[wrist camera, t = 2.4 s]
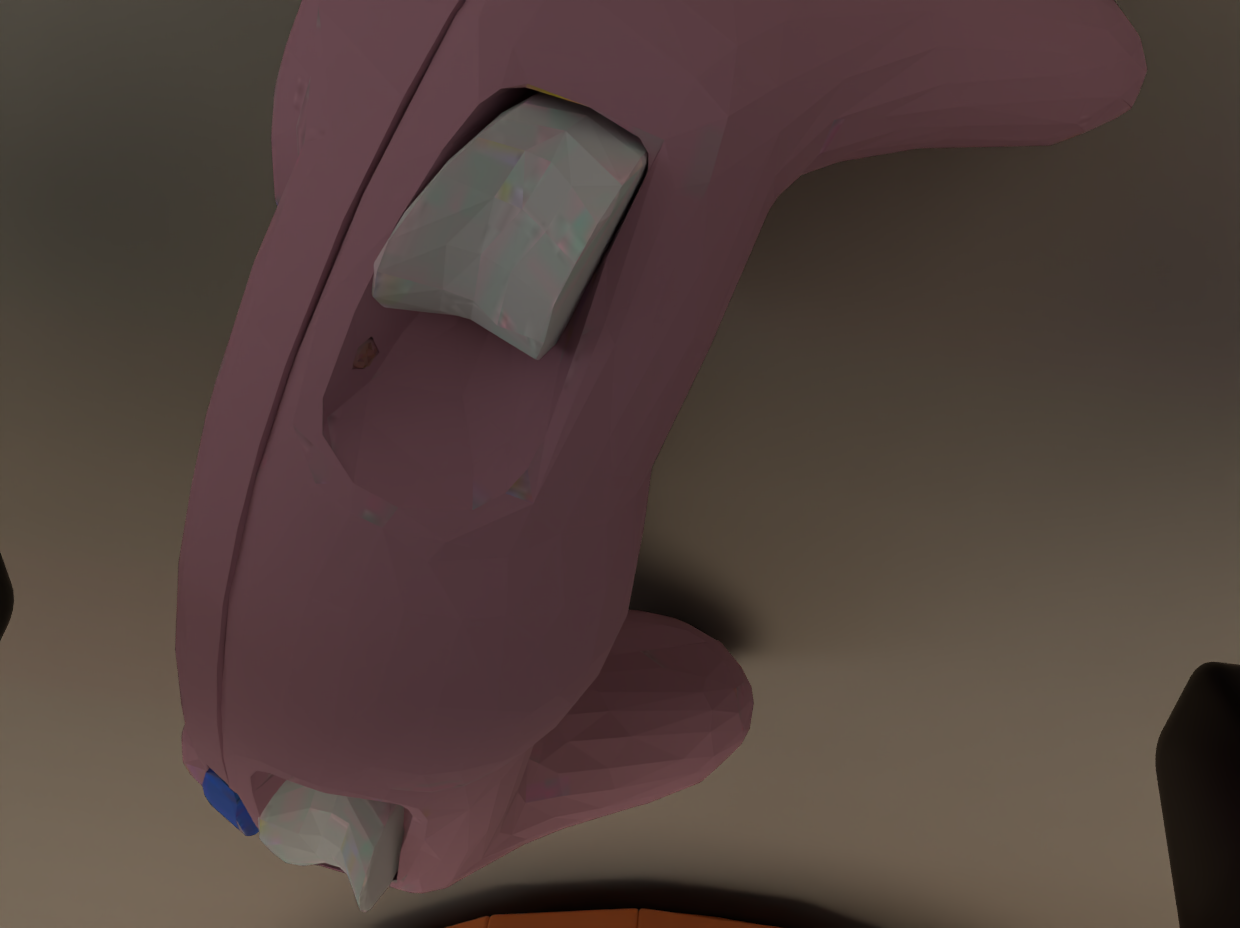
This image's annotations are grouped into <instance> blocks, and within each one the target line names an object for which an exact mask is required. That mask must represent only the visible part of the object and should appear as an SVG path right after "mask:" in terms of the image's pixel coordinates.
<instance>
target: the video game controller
mask: <svg viewBox="0 0 1240 928" xmlns="http://www.w3.org/2000/svg"><path fill="white" fill-rule="evenodd" d="M1146 73H1147V65H1146V61H1145V56H1144V52H1143V47H1142V42H1141V39H1140V37H1139V34H1138V33H1137V31H1136V30H1135V29H1134V27H1133V26H1132V24H1131V23H1130V21H1129V20H1128V19H1127V17H1126V16H1125V15H1124V13H1123V12H1122V11H1121V9H1120V8H1119V6H1118V5H1117V4H1116V2H1115V1H1114V0H302V2H301V4H300V7H299V10H298V13H297V16H296V18H295V21H294V24H293V27H292V30H291V32H290V35H289V38H288V41H287V44H286V47H285V50H284V54H283V58H282V62H281V66H280V70H279V73H278V77H277V81H276V85H275V91H274V104H273V118H272V132H271V144H272V160H273V176H274V192H275V201H276V204H277V209H276V211H275V213H274V216H273V218H272V220H271V223H270V225H269V228H268V230H267V232H266V235H265V237H264V239H263V242H262V244H261V246H260V249H259V251H258V254H257V256H256V258H255V261H254V264H253V267H252V270H251V273H250V276H249V279H248V282H247V285H246V288H245V292H244V295H243V298H242V301H241V304H240V307H239V310H238V313H237V317H236V320H235V323H234V326H233V329H232V332H231V335H230V338H229V342H228V345H227V348H226V351H225V354H224V357H223V360H222V363H221V366H220V370H219V373H218V376H217V379H216V382H215V386H214V389H213V393H212V396H211V400H210V403H209V407H208V410H207V414H206V418H205V422H204V427H203V432H202V437H201V442H200V447H199V451H198V456H197V461H196V466H195V471H194V476H193V481H192V485H191V491H190V497H189V503H188V509H187V515H186V521H185V527H184V533H183V539H182V545H181V551H180V557H179V566H178V592H177V618H176V643H175V651H176V660H177V669H178V677H179V686H180V695H181V704H182V710H183V715H184V720H185V725H184V728H183V731H182V754H183V763H184V765H185V766H186V768H187V770H188V771H189V773H190V774H191V775H192V776H193V777H194V778H195V779H196V780H197V781H198V782H199V783H200V784H201V785H202V786H203V790H204V795H205V797H206V798H207V800H208V801H209V803H210V804H211V805H212V806H213V807H214V808H215V809H216V810H217V811H218V812H220V813H221V814H222V815H223V816H224V817H225V818H226V819H227V820H229V821H230V822H231V823H232V824H233V825H234V826H235V827H236V828H238V829H239V830H240V831H241V832H242V833H243V834H244V835H245V836H251V835H255V834H256V833H257V832H259V839H260V840H261V841H262V842H263V843H264V844H265V845H266V846H267V848H268V849H269V850H270V851H271V852H272V853H273V854H275V855H276V856H277V857H279V858H280V859H281V860H283V861H284V862H285V863H289V864H295V865H301V866H305V865H312V864H313V865H319V866H323V867H326V868H329V869H333V870H336V871H339V872H343V873H346V874H347V875H348V877H349V880H350V883H351V886H352V889H353V892H354V895H355V898H356V901H357V903H358V906H359V909H360V911H363V912H366V911H369V910H370V909H371V908H372V907H373V906H374V904H375V903H376V902H377V901H378V899H379V898H380V897H381V896H382V894H383V893H384V892H385V891H386V889H387V888H388V887H389V886H390V887H393V888H396V889H400V890H403V891H406V892H410V893H425V892H430V891H435V890H440V889H444V888H447V887H449V886H451V885H452V884H454V883H456V882H458V881H459V880H461V879H463V878H465V877H466V876H468V875H470V874H472V873H474V872H475V871H477V870H479V869H481V868H483V867H484V866H486V865H488V864H490V863H491V862H493V861H495V860H497V859H499V858H500V857H502V856H504V855H506V854H508V853H509V852H511V851H513V850H515V849H517V848H518V847H520V846H522V845H524V844H526V843H529V842H531V841H534V840H536V839H539V838H541V837H544V836H546V835H549V834H551V833H554V832H556V831H559V830H561V829H564V828H566V827H570V826H573V825H576V824H579V823H583V822H586V821H589V820H593V819H596V818H599V817H603V816H606V815H609V814H613V813H616V812H619V811H622V810H626V809H629V808H632V807H636V806H639V805H643V804H647V803H650V802H652V801H655V800H657V799H660V798H662V797H665V796H667V795H670V794H672V793H675V792H677V791H680V790H682V789H685V788H687V787H690V786H692V785H695V784H697V783H700V782H701V781H703V780H704V779H705V778H706V777H707V776H708V775H709V774H711V773H712V772H713V771H714V770H715V769H716V768H717V767H718V766H719V765H720V764H721V763H722V762H723V761H725V760H726V759H727V758H728V757H729V756H730V755H731V754H732V753H733V752H734V751H735V750H736V749H737V748H738V747H739V746H740V745H741V744H742V742H743V740H744V738H745V736H746V735H747V733H748V731H749V729H750V723H751V717H752V710H753V704H754V702H753V695H752V687H751V685H750V683H749V681H748V679H747V677H746V675H745V673H744V671H743V670H742V668H741V666H740V665H739V664H738V662H737V661H736V660H735V659H734V657H733V656H732V655H731V654H730V653H729V651H728V650H727V649H726V648H725V646H724V645H723V644H722V643H721V642H720V641H717V640H715V639H713V638H711V637H710V636H708V635H706V634H705V633H703V632H701V631H699V630H698V629H696V628H694V627H693V626H691V625H689V624H687V623H685V622H683V621H680V620H678V619H676V618H673V617H668V616H664V615H659V614H654V613H650V612H645V611H639V610H630V609H629V603H630V598H631V593H632V588H633V582H634V577H635V572H636V567H637V561H638V556H639V551H640V546H641V540H642V535H643V530H644V524H645V516H646V508H647V501H648V493H649V485H650V478H651V470H652V466H653V464H654V462H655V460H656V458H657V456H658V454H659V452H660V450H661V447H662V445H663V443H664V441H665V439H666V437H667V435H668V433H669V431H670V429H671V427H672V425H673V423H674V421H675V419H676V417H677V414H678V412H679V410H680V408H681V406H682V404H683V402H684V400H685V398H686V396H687V394H688V392H689V390H690V388H691V386H692V384H693V381H694V379H695V377H696V375H697V373H698V371H699V369H700V367H701V365H702V363H703V361H704V359H705V357H706V355H707V353H708V350H709V348H710V346H711V344H712V341H713V339H714V337H715V334H716V332H717V330H718V328H719V325H720V323H721V321H722V318H723V316H724V314H725V311H726V309H727V307H728V304H729V302H730V300H731V297H732V295H733V293H734V290H735V288H736V286H737V283H738V281H739V279H740V276H741V274H742V272H743V269H744V267H745V265H746V263H747V260H748V258H749V256H750V253H751V251H752V249H753V246H754V244H755V242H756V239H757V237H758V235H759V232H760V230H761V228H762V225H763V223H764V221H765V218H766V216H767V214H768V211H769V210H770V208H771V207H772V205H773V204H774V202H775V201H776V199H777V198H778V196H779V195H780V194H781V193H783V192H784V191H785V190H786V189H787V188H788V187H789V186H790V185H791V184H792V183H793V182H794V181H795V180H796V179H798V178H799V177H800V176H801V175H803V174H806V173H809V172H812V171H814V170H817V169H820V168H823V167H826V166H829V165H832V164H835V163H837V162H842V161H848V160H854V159H859V158H865V157H871V156H877V155H883V154H888V153H894V152H900V151H906V150H912V149H917V148H959V147H1004V146H1049V145H1054V144H1057V143H1059V142H1062V141H1064V140H1067V139H1069V138H1072V137H1075V136H1077V135H1080V134H1082V133H1085V132H1087V131H1090V130H1092V129H1094V128H1096V127H1098V126H1101V125H1103V124H1105V123H1107V122H1109V121H1112V120H1114V119H1116V118H1117V117H1119V116H1120V115H1122V114H1124V113H1125V112H1127V111H1128V110H1130V109H1131V108H1132V106H1133V104H1134V102H1135V100H1136V98H1137V96H1138V94H1139V91H1140V89H1141V87H1142V84H1143V81H1144V78H1145V75H1146Z"/></svg>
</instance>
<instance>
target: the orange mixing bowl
mask: <svg viewBox="0 0 1240 928" xmlns="http://www.w3.org/2000/svg"><path fill="white" fill-rule="evenodd" d="M444 928H782V927H775V926H768V925H760V924H754V923H748V922H743V921H737V920H731V919H726V918H720V917H714V916H704V915H694V914H684V913H674V912H667V911H659V910H652V909H645V908H642V909H640V910H638V909H636V908H625V909H600V910H582V911H562V912H541V913H519V914H498V915H492V916H490V917H489V916H483V917H480V918H476V919H473V920H469V921H466V922H462V923H458V924H455V925H451V926H448V927H444Z"/></svg>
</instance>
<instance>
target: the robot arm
mask: <svg viewBox="0 0 1240 928" xmlns="http://www.w3.org/2000/svg"><path fill="white" fill-rule="evenodd" d="M13 604H14V595H13V588H12V584H11V581H10V579H9V576H8V573H7V570H6V567H5V564H4V561H3V559H2V556H1V553H0V640H1V638H2V636H3V634H4V632H5V630H6V628H7V626H8V623H9V621H10V618H11V615H12V611H13ZM1156 773H1157V780H1158V787H1159V793H1160V800H1161V806H1162V813H1163V820H1164V826H1165V833H1166V839H1167V846H1168V853H1169V859H1170V866H1171V872H1172V879H1173V886H1174V892H1175V899H1176V905H1177V912H1178V919H1179V925H1180V928H1240V665H1236V664H1228V663H1220V662H1209V663H1204V664H1202V665H1201V666H1199V667H1198V668H1197V669H1196V670H1195V671H1194V672H1193V674H1192V675H1191V677H1190V679H1189V681H1188V683H1187V685H1186V686H1185V688H1184V690H1183V692H1182V694H1181V696H1180V698H1179V700H1178V701H1177V703H1176V705H1175V707H1174V709H1173V711H1172V713H1171V715H1170V717H1169V718H1168V720H1167V722H1166V724H1165V726H1164V728H1163V730H1162V732H1161V734H1160V737H1159V739H1158V743H1157V748H1156Z"/></svg>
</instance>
